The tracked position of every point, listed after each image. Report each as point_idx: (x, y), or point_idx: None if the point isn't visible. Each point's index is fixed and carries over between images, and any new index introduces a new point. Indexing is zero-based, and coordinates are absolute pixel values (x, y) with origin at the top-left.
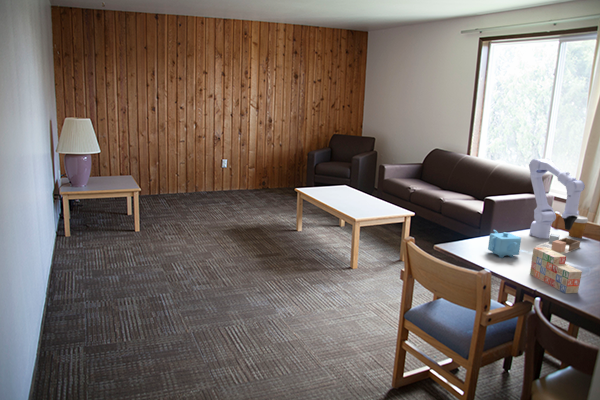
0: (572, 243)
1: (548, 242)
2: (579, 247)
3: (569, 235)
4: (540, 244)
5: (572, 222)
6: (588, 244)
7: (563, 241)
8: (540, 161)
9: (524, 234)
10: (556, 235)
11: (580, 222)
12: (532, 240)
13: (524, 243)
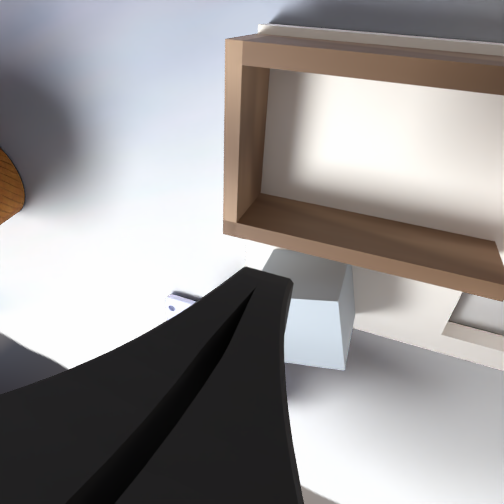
0: (477, 90)
1: None
2: (270, 27)
3: (9, 215)
4: (486, 364)
5: (215, 400)
6: (16, 27)
7: (306, 221)
8: None
9: None
10: None
11: None
12: (322, 389)
13: (464, 433)
